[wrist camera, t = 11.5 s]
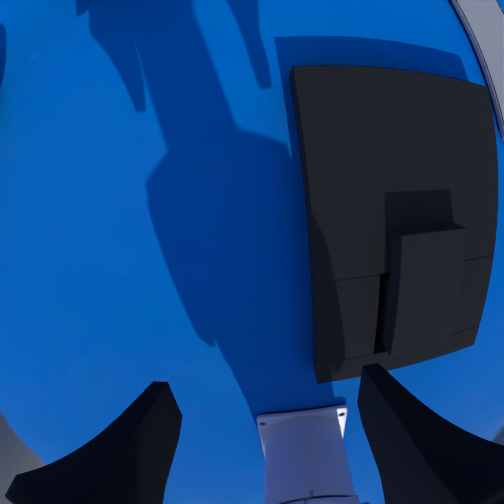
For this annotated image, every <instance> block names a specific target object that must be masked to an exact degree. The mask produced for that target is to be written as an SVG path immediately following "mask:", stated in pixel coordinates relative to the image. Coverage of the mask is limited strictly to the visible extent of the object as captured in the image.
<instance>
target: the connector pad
mask: <svg viewBox="0 0 504 504" xmlns="http://www.w3.org/2000/svg"><path fill="white" fill-rule="evenodd" d="M466 233H467V228H466V227H463V226H461V225H459V224H456V223H454V222H452V223H442V224H432V225H422V226H412V227H403V228H393V229H391V257H390V273H383V274H380V288H379V304H378V316H377V327H376V333H377V334H378V336H379V338H380V339H381V341H382V343H383V345H384V346H385V348H386V350H387V352H388V353H389V355H390V357H391V356H396V355H400V354H404V353H408V352H412V351H416V350H420V349H423V348H427V347H430V346H434V345H437V344H441V343H444V342H447V341H449V338H450V334H451V330H452V326H453V321H454V317H455V312H456V307H457V302H458V297H459V291H460V285H461V279H462V272H463V264H464V255H465V245H466Z"/></svg>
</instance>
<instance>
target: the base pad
mask: <svg viewBox="0 0 504 504" xmlns="http://www.w3.org/2000/svg"><path fill="white" fill-rule="evenodd" d="M289 78H290V85H291V91H292V97H293V104H294V111H295V118H296V125H297V133H298V140H299V148H300V157H301V165H302V174H303V184H304V194H305V204H306V216H307V228H308V240H309V255H310V270H311V289H312V312H313V346H314V370H315V374H316V379H317V383H325V382H331V381H338V380H343V379H349V378H354V377H360V376H361V374H362V366H365V365H370V364H375V363H379V364H380V365H381V366H382V367H383V368H384V369H385V370H386V371H388V370H392V369H396V368H400V367H404V366H408V365H412V364H415V363H419V362H423V361H426V360H429V359H433V358H436V357H439V356H443V355H446V354H449V353H452V352H455V351H458V350H461V349H464V348H466V347H469V346H472V345H474V342H475V339H476V335H477V332H478V328H479V324H480V320H481V317H482V313H483V309H484V304H485V300H486V295H487V290H488V285H489V280H490V274H491V268H492V262H493V254H494V248H495V239H496V228H497V213H498V160H497V145H496V134H495V126H494V118H493V111H492V105H491V99H490V94H489V89H488V87H486V86H482V85H479V84H475V83H471V82H467V81H463V80H459V79H454V78H450V77H445V76H440V75H434V74H429V73H423V72H416V71H409V70H401V69H392V68H382V67H369V66H347V65H310V66H293V67H292V70H291V73H290V76H289ZM452 222H454V223H456V224H459V225H461V226H463V227H466V228H467V233H466V245H465V255H464V264H463V272H462V279H461V285H460V291H459V297H458V302H457V307H456V312H455V317H454V321H453V326H452V330H451V334H450V338H449V341H447V342H444V343H441V344H437V345H434V346H430V347H427V348H423V349H420V350H416V351H412V352H408V353H404V354H400V355H396V356H391V357H390V355H389V353H388V352H387V350H386V348H385V346H384V345H383V343H382V341H381V339H380V338H379V336H376V327H377V316H378V304H379V288H380V274H383V273H390V257H391V229H393V228H403V227H412V226H422V225H432V224H442V223H452ZM375 336H376V337H375Z"/></svg>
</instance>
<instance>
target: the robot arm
mask: <svg viewBox="0 0 504 504" xmlns="http://www.w3.org/2000/svg"><path fill="white" fill-rule="evenodd" d="M357 403H358V408H359V412H360V417H361V421H362V425H363V428H364V431H365V433H366V436H367V439H368V442H369V445H370V447H371V450H372V453H373V456H374V459H375V461H376V464H377V467H378V470H379V474H380V477H381V482H382V487H383V493H384V498H385V504H504V446H503V445H500V444H497V443H494V442H491V441H488V440H485V439H483V438H480V437H478V436H476V435H474V434H471V433H469V432H467V431H465V430H463V429H461V428H459V427H457V426H455V425H454V424H452V423H451V422H449V421H447V420H446V419H444V418H442V417H441V416H439V415H438V414H437V413H435V412H434V411H432V410H431V409H430V408H428V407H427V406H426V405H424V404H423V403H422V402H421V401H420V400H418V399H417V398H416V397H415V396H414V395H412V394H411V393H410V392H409V391H408V390H407V389H406V388H404V387H403V386H402V385H401V384H400V383H399V382H398V381H397V380H396V379H395V378H394V377H393V376H392V375H390V374H389V373H388V372H387V371H386V370H385V369H384V368H383V367H382V366H381V365H380V364H379V363H375V364H370V365H365V366H362V374H361V381H360V388H359V395H358V401H357ZM347 411H348V409H347V406H346V405H338V406H332V407H326V408H319V409H312V410H305V411H296V412H287V413H276V414H263V415H259V416H257V425H258V430H259V435H260V439H261V444H262V449H263V453H264V458H265V504H360V501H359V496H358V495H355V493H354V488H353V483H352V478H351V474H350V469H349V464H348V460H347V455H346V451H345V447H344V442H343V436H344V430H345V424H346V418H347ZM181 422H182V414H181V412H180V410H179V407H178V405H177V403H176V400H175V398H174V396H173V393H172V391H171V389H170V386H169V384H168V382H155V381H153V382H152V383H151V384H150V385H149V386H148V387H147V388H146V389H145V391H144V392H143V393H142V394H141V395H140V396H139V397H138V398H137V399H136V400H135V401H134V402H133V403H132V404H131V405H130V406H129V407H128V408H127V409H126V410H125V411H124V412H123V413H122V414H121V415H120V416H119V417H118V418H117V419H116V420H115V421H113V422H112V423H111V424H110V425H109V426H108V427H107V428H106V429H104V430H103V431H102V432H101V433H100V434H98V435H97V436H96V437H95V438H93V439H92V440H91V441H89V442H88V443H86V444H85V445H83V446H82V447H80V448H79V449H77V450H75V451H74V452H72V453H70V454H69V455H67V456H65V457H63V458H61V459H59V460H57V461H55V462H53V463H51V464H48V465H46V466H44V467H41V468H38V469H35V470H32V471H29V472H25V473H22V474H17V475H16V476H15V478H14V480H13V482H12V483H11V485H10V487H9V489H8V491H7V493H6V495H5V497H6V498H7V499H8V500H9V501H10V502H11V503H13V504H163V498H164V491H165V486H166V482H167V478H168V475H169V471H170V468H171V465H172V461H173V458H174V454H175V451H176V447H177V444H178V440H179V436H180V429H181ZM361 504H370V503H369V502H365V503H361Z"/></svg>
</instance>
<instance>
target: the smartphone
mask: <svg viewBox="0 0 504 504" xmlns="http://www.w3.org/2000/svg"><path fill="white" fill-rule="evenodd" d="M451 2H452V3H453V5H454V7H455V9H456V11H457V13H458V14H459V16H460V18H461V20H462V22H463V24H464V26H465V28H466V31H467V33H468V35H469V37H470V39H471V42H472V44H473V46H474V49H475V51H476V53H477V56H478V58H479V61H480V64H481V66H482V69H483V72H484V75H485V78H486V81H487V84H488V87H489V90H490V93H491V97H492V100H493V104H494V107H495V111H496V115H497V119H498V123H499V128H500V133H501V136H502V139H503V141H504V13H503V11H502V9H501V7H500V5H499V3H498V1H497V0H451Z"/></svg>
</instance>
